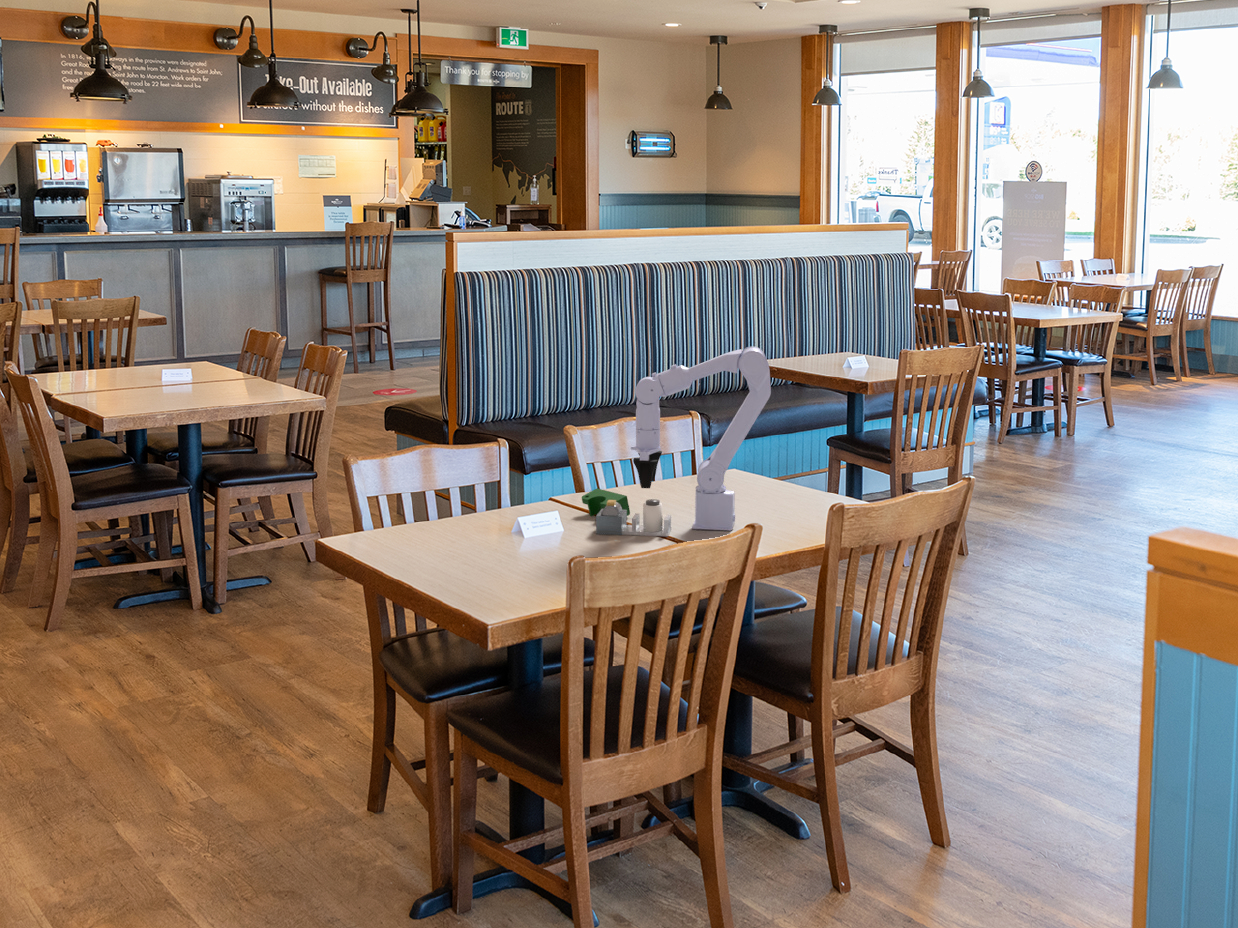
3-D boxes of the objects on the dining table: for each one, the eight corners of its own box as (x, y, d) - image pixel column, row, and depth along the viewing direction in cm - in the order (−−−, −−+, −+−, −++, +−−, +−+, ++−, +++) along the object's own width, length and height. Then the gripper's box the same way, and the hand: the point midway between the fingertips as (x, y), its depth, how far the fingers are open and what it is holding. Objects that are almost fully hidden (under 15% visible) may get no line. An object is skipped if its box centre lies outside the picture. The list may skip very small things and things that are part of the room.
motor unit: (671, 529, 290) (671, 499, 289) (667, 537, 283) (667, 506, 282) (601, 526, 293) (601, 497, 292) (596, 534, 286) (596, 504, 285)
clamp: (591, 531, 305) (575, 499, 305) (608, 522, 309) (593, 489, 309) (617, 522, 296) (601, 489, 295) (635, 513, 299) (618, 479, 299)
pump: (649, 525, 290) (649, 497, 289) (666, 528, 288) (665, 500, 286) (639, 529, 287) (639, 501, 285) (656, 532, 284) (655, 504, 283)
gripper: (635, 422, 297) (635, 477, 300) (626, 433, 283) (626, 490, 286) (664, 423, 296) (663, 478, 299) (657, 434, 282) (656, 491, 285)
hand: (647, 484), depth 292 cm, fingers open, 7 cm apart
